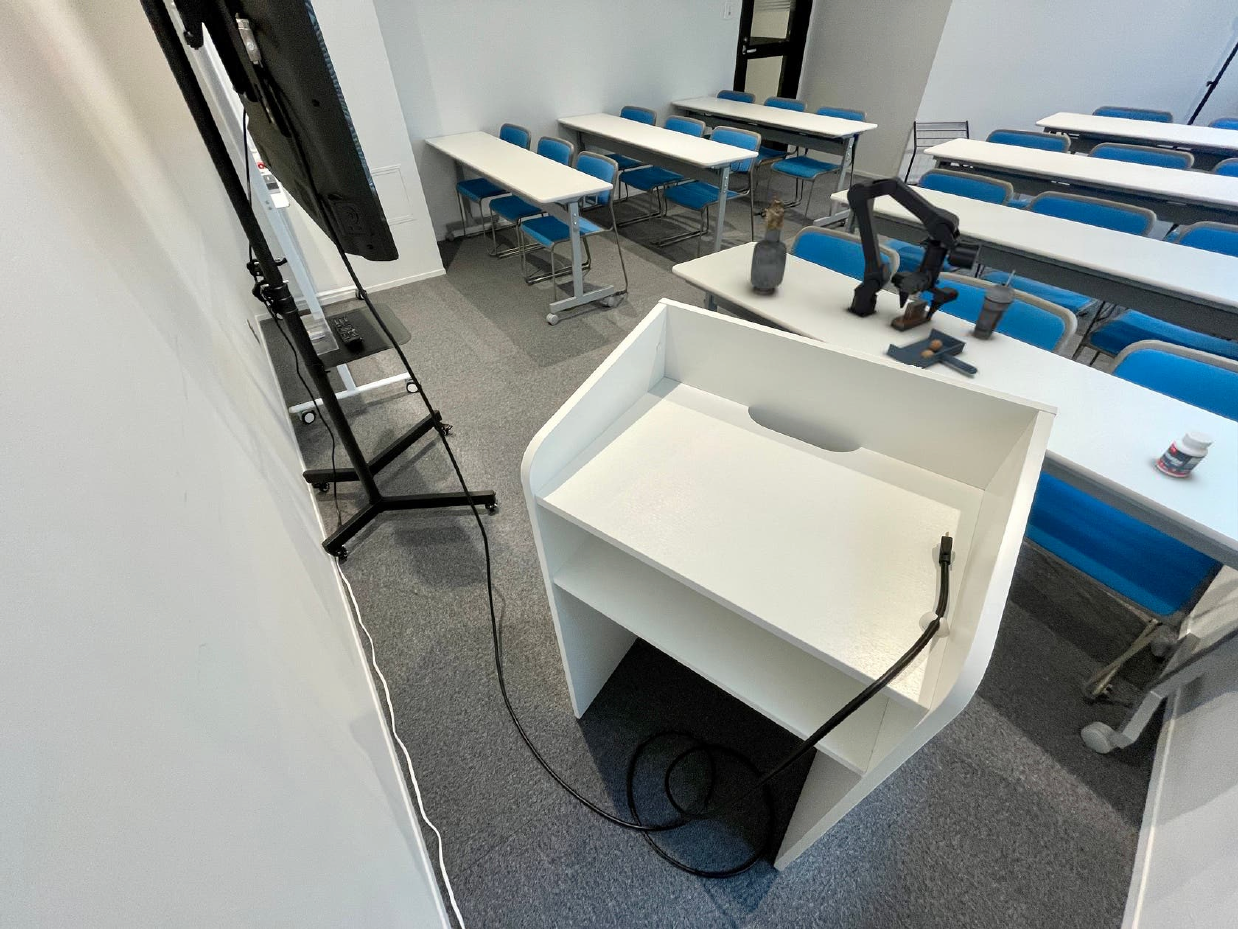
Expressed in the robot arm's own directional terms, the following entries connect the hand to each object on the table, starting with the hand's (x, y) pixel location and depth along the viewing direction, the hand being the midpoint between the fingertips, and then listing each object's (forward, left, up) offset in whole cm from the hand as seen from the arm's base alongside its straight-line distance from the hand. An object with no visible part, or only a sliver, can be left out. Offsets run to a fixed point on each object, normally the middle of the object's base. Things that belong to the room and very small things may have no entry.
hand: (914, 313), depth 161 cm
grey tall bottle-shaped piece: (-45, -20, -4) cm, 49 cm away
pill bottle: (+73, -10, -4) cm, 74 cm away
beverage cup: (+16, +11, -4) cm, 20 cm away
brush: (0, 0, -3) cm, 3 cm away
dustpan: (+19, -12, -3) cm, 23 cm away
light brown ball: (+17, -15, -2) cm, 23 cm away
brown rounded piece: (+15, -8, -2) cm, 17 cm away
